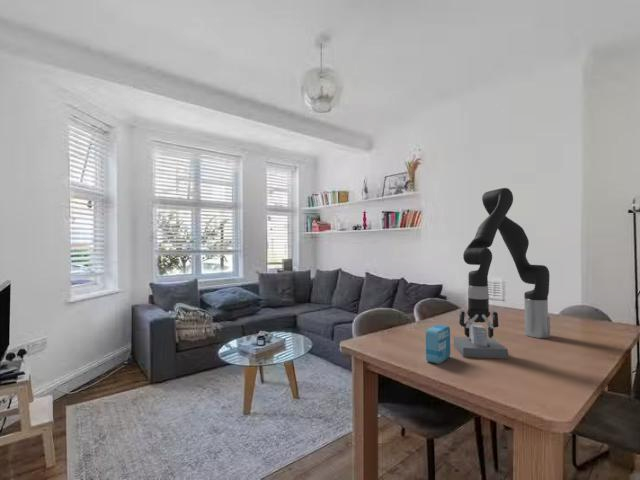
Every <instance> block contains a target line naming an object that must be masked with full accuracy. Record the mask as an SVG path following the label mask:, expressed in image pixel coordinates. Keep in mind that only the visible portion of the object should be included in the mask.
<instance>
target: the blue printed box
mask: <svg viewBox="0 0 640 480" xmlns="http://www.w3.org/2000/svg"><path fill="white" fill-rule="evenodd" d="M450 356H451V329H450V326H448V325H441V324H436V325H434V326H431V327H430V328H427V329H426V331H425V360H426V362H429V363H433V364H437V365H440V364H442V363H443V362H444V361H446V360H447V359H449V358H450Z"/></svg>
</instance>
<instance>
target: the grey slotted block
mask: <svg viewBox="0 0 640 480" xmlns="http://www.w3.org/2000/svg"><path fill="white" fill-rule="evenodd" d="M453 347H454V348H456V350H457V351H458V352H459V354H460V355H461V356H462V357H463V358H479V359H481V358H483V359H486V358H487V359H507V360H508V358H509V350H508V348H507V347H505V346H504V345H502V343H500V341H497V340H496V339H494V338H493V337H492V338H489V337H487V347H485V346H475V345H474V344H473V343H471V337H467V336H466V337H462V336H456V337H455V336H453Z"/></svg>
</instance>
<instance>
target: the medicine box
mask: <svg viewBox="0 0 640 480" xmlns="http://www.w3.org/2000/svg"><path fill="white" fill-rule="evenodd" d="M469 327H470V328H469V331H470V338H471V343H473V344H474V345H475V346H485V347H487V338H488V329H486V327H484V326H483V325H481V324H471V325H470V326H469Z"/></svg>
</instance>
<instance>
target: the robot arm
mask: <svg viewBox="0 0 640 480" xmlns="http://www.w3.org/2000/svg"><path fill="white" fill-rule="evenodd" d="M481 201H482V204H483V207H484V209H485V211H486V212H487V213H488V216H487V217H486V218H485V219H484V220H483V221H482V222H481V223H480V225H479V226H478V228H477V231H476V233H475V236H474V238H473V239H472V240H471V241H470V243H468V245H467V246H466V248H465V250H464V252H463V254H462V255H463V260H464V263H465V264H467V265H472V266H479V267H478V269H477V270H471V271H469V272H468V277H467V278H468V289H467V308H468V310H467V311H466V310H465V311H464V310H460V311H459V321H458V323H459V325H460V326H461V327H463V328H464V329H463V330H464V335H465V336H466V337H468V338H470V328H469V327H470V326H471V325H473V323H486V324H485V325H487V338H493V337H494V329H495V328H498V327H499V317H498V316H499V315H498V312H496V311H495V310H493V311H490V310H489V309H490V305H489V301H490V300H489V299H490V295H489V294H490V293H489V287H488V284H489V281H488V278H489V277H488V275H489V270H490V268H491V264H492V261H493V253H492V251H491V249H490V247H492V245H493V242H494V239H495V238H496V234H497V232H499V234H500V236H501V238H502V240H503V242H504V244H505V246H506V248H507V249H508V251H509V252H508V253H510V256H511V258H512V260H513V262H514V265H515V267H516V270H517V273H518V276H519V278H520V280H521V281H522V282H523V283H525V284H528V285H529V284H530V285H534V288H533V289H532V290H529V291H525V292H524V297H523V298H524V301H523V302H524V335H526V336H527V337H531V338H539V339H546V338H551V316H549V309H548V308H549V307H548V306H549V303H548V302H549V301H548V299H549V298H548V297H549V293H550V278H551V277H550V271H549V268H548V267H547V265H543V264H531V263H529V261H528V260H529V259H527V256H526V255H527V251H528V249H529V243H530V242H529V238H528V236H527V233H526V232H525V230H524V229H523V227H522V226H521V225H519V224H518V223H516V222H515V221H514V220H512V219H511V218H509V217H508V216H507V214H508V212H509V211H510V209H511V208H512V205H513V202H514V196H513V192H512V191H511V189H510V188H508V187H502V188H498V189H494V190H493V189H492V190H490V191H486V192H484V193H483V194H482V197H481ZM467 316H468V318H467V319H466V321H465V318H466V317H467ZM489 317H492V322H491V321H490V320H489V319H488V318H489Z"/></svg>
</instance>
